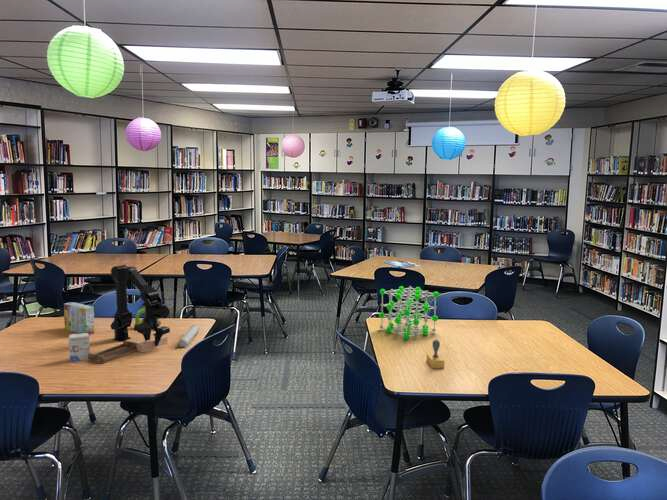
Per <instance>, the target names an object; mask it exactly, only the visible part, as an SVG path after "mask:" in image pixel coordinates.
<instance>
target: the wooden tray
mask: <svg viewBox="0 0 667 500" xmlns="http://www.w3.org/2000/svg"><path fill="white" fill-rule="evenodd" d="M137 343H138V342H134V341H127V340H124V341H122V343H120V344H119V345H118V344H117V345H115V346H113V347H110V348H107V349H105V350H102V351H98V352H95V353H91V352H90V353H89V354H88V357H89V359H88V362H93V363H97V364H103V365H104V364H106V363H108V362H111V361H113V360H116V359H118V358H121V357H124V356H127V355H129V354H131V353H133V352H137Z"/></svg>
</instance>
